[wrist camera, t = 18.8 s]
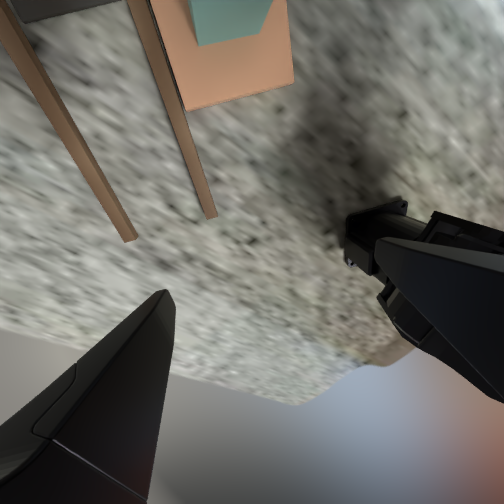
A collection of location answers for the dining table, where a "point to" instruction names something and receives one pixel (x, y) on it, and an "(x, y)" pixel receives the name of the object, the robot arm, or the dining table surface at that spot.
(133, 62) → the dining table surface
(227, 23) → the block
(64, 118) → the chute
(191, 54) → the tile
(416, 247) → the robot arm
